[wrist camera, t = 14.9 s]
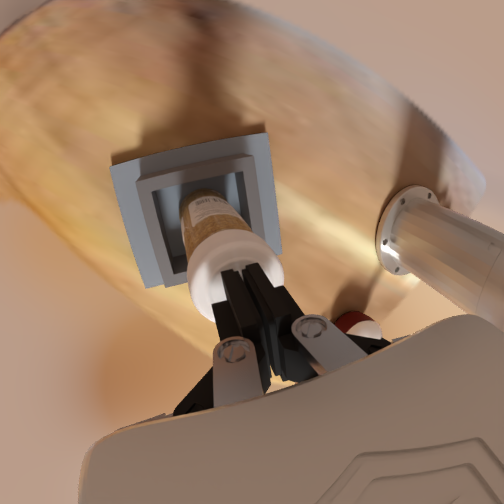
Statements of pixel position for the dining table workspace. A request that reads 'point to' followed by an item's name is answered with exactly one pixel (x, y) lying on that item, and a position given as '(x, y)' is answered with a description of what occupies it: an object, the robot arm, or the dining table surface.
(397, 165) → the dining table surface
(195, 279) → the sprinkles bottle
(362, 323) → the cocoa
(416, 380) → the robot arm
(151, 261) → the bottle stand
